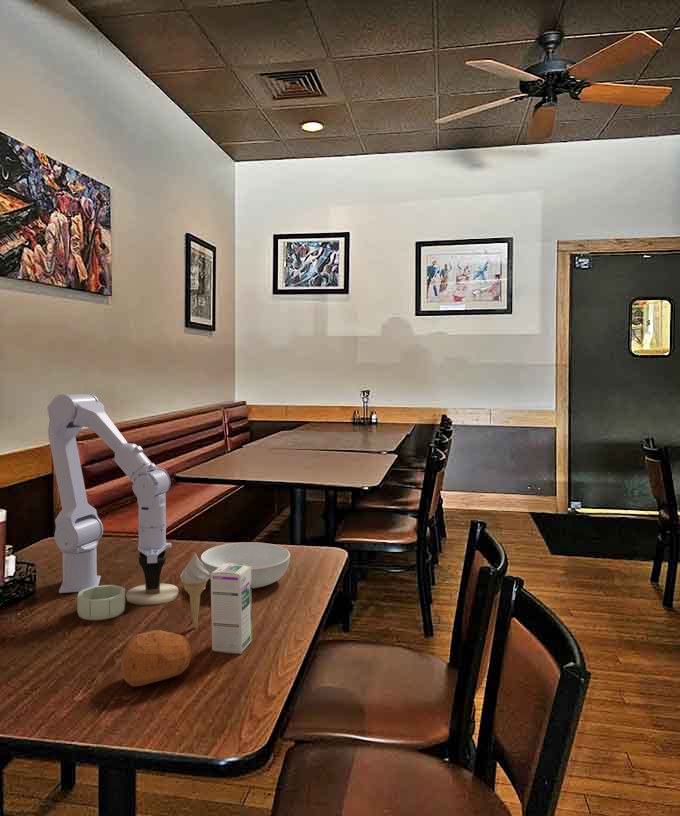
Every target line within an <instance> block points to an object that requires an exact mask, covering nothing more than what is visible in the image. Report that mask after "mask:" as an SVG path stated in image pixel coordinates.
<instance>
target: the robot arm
mask: <svg viewBox="0 0 680 816" xmlns="http://www.w3.org/2000/svg"><path fill="white" fill-rule="evenodd" d="M47 412H48V418H49V419H48V420H49V421H48V422H49V423H48V428H47V436H48V441H49V446H50V452H51V457H52V462H53V467H54V473H55V478H56V483H57V487H58V488H57V489H58V494H59V499H60V505H61V511H60V512H59V513H58V514H57V516H56V518H55V519H54V523H55V524H54V525H55V529H54V531H55V532H54V542H55V544H56V546H57V547H58V548H59V549H60V551H59V552H61V554H62V583H61V585H60V588H59V589H58V593H59V594H65V593H66V594H67V593H79V592H80V591H82V590H85V589H87V588H90V587H93V586H94V587H95V586H100V580H101V575H98V571H97V570H98V565H97V546H98V545H99V541H100V539H101V538H102V536H103V534H104V525H103V523H102V521H101V519H100V517H99V516H98V511H97V509H96V508H95V507H93V506H92V505H90V503H88V497H87V492H86V486H85V481H84V475H83V471H82V466H81V465H82V464H81V460H80V455H79V449H78V444H77V438H76V437H77V435H78V434H79V432H80V431H81V430H82V429H83V427H85V428H89V429H92V431H93V432H94V433H95V434H96V435H97V436H98V437H99V438H100V439H101V440H102V441H103V442H104V444H106V445H107V447H109V448H110V449H111V450H112V451H113V453H114V458H113V459H114V462H115V463H116V465H118V467H119V468H120V469H121V470H122V471H123V473H124V474H125V475H126V476H127V477H128V479H129V480H130V481H131V482H132V484H131V486H132V491H133V494H134V495H135V496H136V498H137V500H136V501H137V505H138V545H137V550H138V551H139V554H138V555H139V557H138V563H139V565H140V567H141V569H142V571H143V574H144V581H145V580H146V585H147V589H148V590H150V589H157V588H158V585H159V579H160V578H161V573H162V569H163V566H164V564H165V563H166V560H167V557H166V556H165V555H166V553H167V551H166V549H171V548H172V543H171V542H167V538H166V535H167V529H166V527H167V525H166V524H167V521H166V519H167V518H166V517H167V515H166V511H167V509H166V508H167V507H166V506H167V502H166V500H167V499H166V493H167V492H168V491H169V489H170V488H171V484H172V483H171V477H170V475H169V473H168V471H167V470H165V469H164V468H161V467H157V466H156V464H155V463H154V462H152V461H151V460H150V459H149V458H148V456H147V455H146V454H145V453H144V452H143V451H144V449H143V448H142V446H141V445H137V444H136V443H130V442H128V441H127V440H126V439H125V437H124V436H123V434H122V433H121V431H119V429H118V428H117V426H116V425H115V424H114V422H113V421H112V420H111V419H110V417H109V416H108V414H107V412H106V410H105V405H104V404H103V403H102V402H101V401H100V400H99V399H98V397H97V396H96V395H95V394H94V393H92V392H85V393H79V394H77V393H75V394H66V393H65V394H64V393H63V394H57V395H56V396H55V397H54V398H53V399H52V400H51V402H49V404H48V406H47ZM160 580H161V579H160Z"/></svg>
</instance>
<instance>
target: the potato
mask: <svg viewBox="0 0 680 816" xmlns="http://www.w3.org/2000/svg"><path fill="white" fill-rule="evenodd" d="M122 651H123V652H122V655H121V658H120V665H121V666H120V668H121V675H122V679H123V681H125V682H126V683H127V684H128V685H129V686H131V687H142V686H146V685H149V684H152V683H156V682H160V681H164V680H167V679H170V678H173V677H176V676H179V675H181V674H182V673H184V672H185V670H186V669H188V668H189V665H190V663H191V660H192V654H193V646H192V644H191V643H190V641H189V639H188V638H187V637H185V636H184V635H182V634H180V633H179V634H178V633H174V632H170V631H165V630H161V629H155V630H150V631H146V632H141V633H138V634H135V635H134V636H133V637H131V639H130V640H129V641H128V642H127V644H126V646H124V649H123V650H122Z"/></svg>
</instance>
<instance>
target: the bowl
mask: <svg viewBox="0 0 680 816" xmlns="http://www.w3.org/2000/svg"><path fill="white" fill-rule="evenodd" d="M77 593H78V594H77V596H76V607H77V608H76V609H77V610H76V611H77V612H76V613H77V614H78V617H79V618H80V619H83V620H86V621H103V620H109V619H112V618H115V617H119V616H120V615H122V614H124V612H125V611H126V588H125V587H123V586H120V585H115V584H104V585H98V586H95V587H94V586H93V587H90V588H87V589H85V590H82V591H80V592H77Z"/></svg>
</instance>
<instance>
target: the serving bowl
mask: <svg viewBox="0 0 680 816" xmlns="http://www.w3.org/2000/svg"><path fill="white" fill-rule="evenodd" d="M199 560H200V562H201V563H202V564H203V565H204V567H205V570H207V571H208V572H209V574H210V575H209V576H208V577H209V579H208V580H210V581H211V573H212V572H213V571H215V570H216V569H217V568H219V567H220V566H221V565H222V564H223V563H225V564H227V563H237V564H246V565H250V566H251V588H252V589H257V588H258V589H259V588H263V587H266V586H268V585H272V584H273V583H275V582H277V581H278V580H279V579H281V578H282V577H283V576H284V575H285V573H286V572H287V570H288V568H289V565H290V560H291V553H290V551H289V550H288V549H286V548H285V547H283V546H280V545H276V544H273V543H267V542H266V543H265V542H253V541H251V542H250V541H249V542H246V541H245V542H244V541H243V542H242V541H241V542H233V543H226V544H225V543H223V544H221V545H216V546H212V547H211V548H209V549H207V550H204V552H203V553H202V554H201V555H200V558H199Z"/></svg>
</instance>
